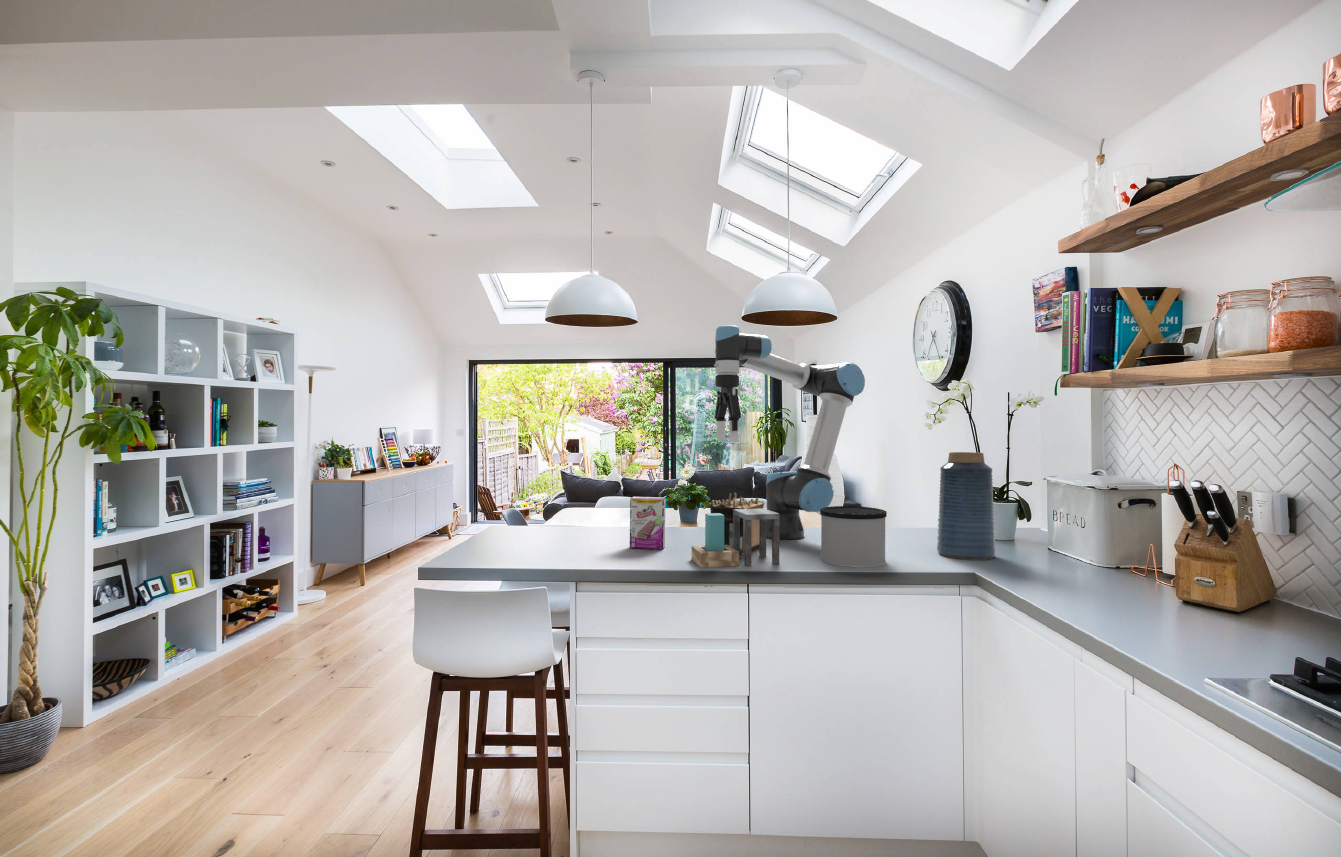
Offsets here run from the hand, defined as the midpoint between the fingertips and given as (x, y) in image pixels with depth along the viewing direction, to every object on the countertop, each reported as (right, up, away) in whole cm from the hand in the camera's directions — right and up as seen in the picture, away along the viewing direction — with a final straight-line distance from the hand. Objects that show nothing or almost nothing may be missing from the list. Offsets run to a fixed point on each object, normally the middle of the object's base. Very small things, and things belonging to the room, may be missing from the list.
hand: (727, 441), depth 203 cm
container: (+36, -35, -15) cm, 52 cm away
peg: (-5, -35, -18) cm, 40 cm away
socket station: (+1, -35, -17) cm, 39 cm away
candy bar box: (-25, -35, +4) cm, 43 cm away
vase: (+73, -35, -7) cm, 81 cm away
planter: (+4, -35, +2) cm, 35 cm away
